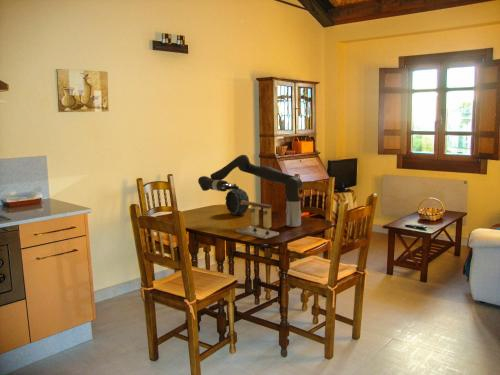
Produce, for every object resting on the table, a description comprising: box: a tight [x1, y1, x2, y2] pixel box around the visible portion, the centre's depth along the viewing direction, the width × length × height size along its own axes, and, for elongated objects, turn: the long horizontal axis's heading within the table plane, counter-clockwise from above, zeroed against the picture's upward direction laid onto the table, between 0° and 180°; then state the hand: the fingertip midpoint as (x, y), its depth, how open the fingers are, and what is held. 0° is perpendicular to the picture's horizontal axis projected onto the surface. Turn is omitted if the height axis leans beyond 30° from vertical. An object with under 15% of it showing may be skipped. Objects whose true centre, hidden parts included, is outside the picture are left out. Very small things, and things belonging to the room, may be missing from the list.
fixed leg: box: [262, 208, 272, 233], centre depth 291 cm, size 5×4×16 cm
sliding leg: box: [249, 206, 260, 231], centre depth 298 cm, size 5×4×16 cm
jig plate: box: [235, 225, 280, 240], centre depth 299 cm, size 13×26×2 cm, turn 46°
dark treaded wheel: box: [225, 187, 250, 216], centre depth 355 cm, size 11×20×20 cm, turn 35°
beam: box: [241, 200, 272, 209], centre depth 297 cm, size 3×24×2 cm, turn 46°
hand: (237, 187), depth 306 cm, fingers closed
